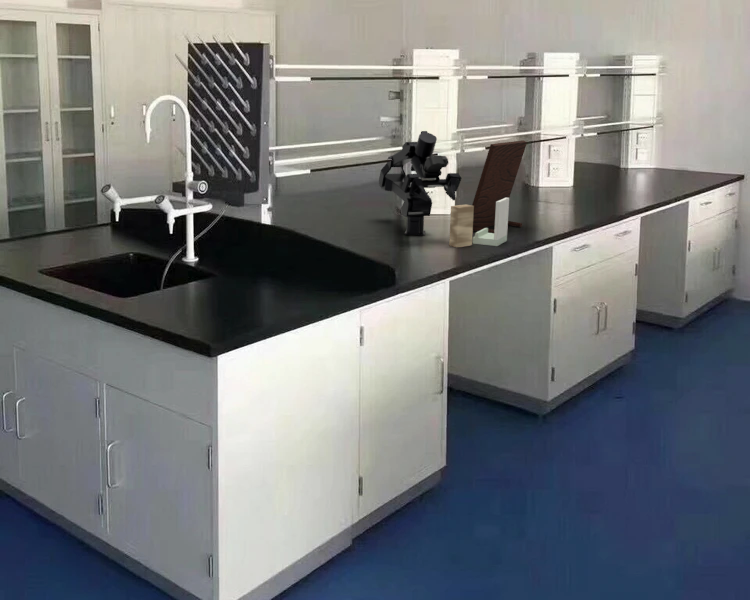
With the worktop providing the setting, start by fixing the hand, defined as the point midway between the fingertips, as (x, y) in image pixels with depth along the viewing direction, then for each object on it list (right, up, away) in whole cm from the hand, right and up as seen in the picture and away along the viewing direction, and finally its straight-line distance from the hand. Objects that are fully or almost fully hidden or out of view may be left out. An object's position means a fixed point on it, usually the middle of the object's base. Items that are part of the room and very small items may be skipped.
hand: (441, 199), depth 280 cm
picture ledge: (+16, -12, +10) cm, 23 cm away
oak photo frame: (+6, -14, +4) cm, 16 cm away
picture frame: (+21, -7, +33) cm, 39 cm away
